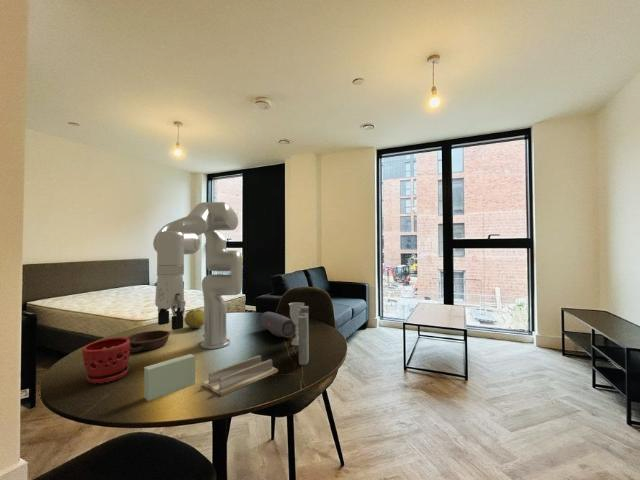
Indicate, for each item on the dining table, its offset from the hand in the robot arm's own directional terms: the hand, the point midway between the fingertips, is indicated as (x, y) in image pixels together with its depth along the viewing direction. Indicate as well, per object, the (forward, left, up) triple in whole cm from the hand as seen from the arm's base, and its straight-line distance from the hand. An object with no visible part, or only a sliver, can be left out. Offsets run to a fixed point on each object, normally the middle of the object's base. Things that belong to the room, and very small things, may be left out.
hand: (170, 326), depth 93 cm
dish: (-51, +12, -20) cm, 56 cm away
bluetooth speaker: (-19, +60, -20) cm, 66 cm away
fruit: (-63, +40, -20) cm, 78 cm away
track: (+10, +19, -20) cm, 29 cm away
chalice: (-1, +56, -20) cm, 60 cm away
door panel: (0, 0, -20) cm, 20 cm away
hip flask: (+13, +46, -20) cm, 52 cm away
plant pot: (-26, -10, -20) cm, 34 cm away
